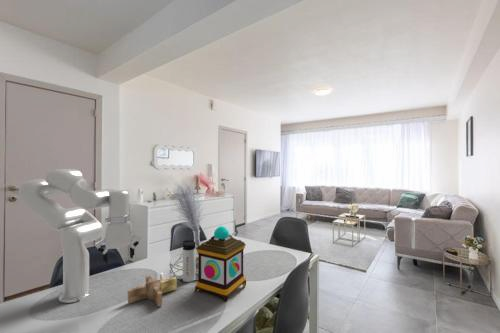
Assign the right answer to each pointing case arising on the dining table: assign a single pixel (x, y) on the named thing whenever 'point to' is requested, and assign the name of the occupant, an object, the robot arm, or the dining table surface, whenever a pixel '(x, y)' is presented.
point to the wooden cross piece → (152, 290)
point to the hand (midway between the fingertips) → (119, 259)
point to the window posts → (162, 276)
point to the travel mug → (189, 261)
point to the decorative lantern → (220, 264)
